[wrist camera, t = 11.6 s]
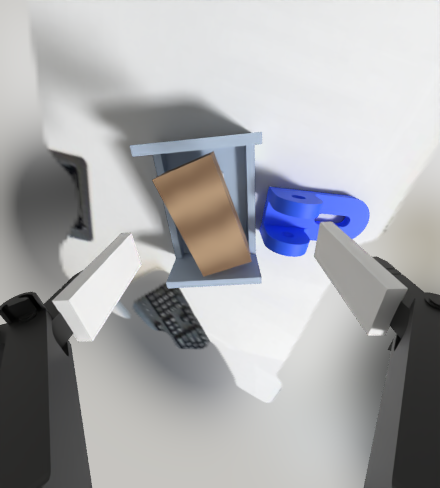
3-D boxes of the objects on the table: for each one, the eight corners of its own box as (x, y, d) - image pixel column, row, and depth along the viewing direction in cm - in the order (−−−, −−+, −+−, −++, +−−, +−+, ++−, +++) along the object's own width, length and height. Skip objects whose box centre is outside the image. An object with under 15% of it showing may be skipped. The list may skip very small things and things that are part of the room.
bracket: (259, 229, 39) (267, 253, 31) (268, 186, 35) (281, 201, 27) (351, 239, 40) (382, 266, 32) (370, 197, 36) (411, 215, 28)
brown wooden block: (248, 243, 36) (251, 261, 31) (206, 256, 38) (203, 276, 32) (213, 151, 29) (210, 154, 24) (164, 172, 31) (151, 179, 26)
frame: (156, 142, 32) (129, 145, 24) (252, 133, 31) (261, 131, 23) (180, 256, 42) (167, 288, 33) (253, 251, 41) (261, 283, 32)
